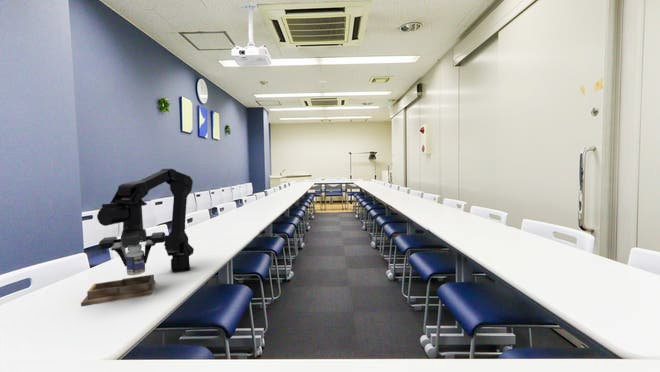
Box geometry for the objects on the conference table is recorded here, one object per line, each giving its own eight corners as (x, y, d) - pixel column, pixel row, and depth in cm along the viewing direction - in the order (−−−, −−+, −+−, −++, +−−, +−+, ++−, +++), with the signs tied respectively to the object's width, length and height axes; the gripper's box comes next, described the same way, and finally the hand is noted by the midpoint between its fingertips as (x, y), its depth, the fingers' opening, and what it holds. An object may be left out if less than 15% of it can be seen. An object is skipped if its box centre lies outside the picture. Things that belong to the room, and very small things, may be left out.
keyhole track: (155, 282, 113) (154, 273, 113) (151, 294, 102) (151, 284, 102) (92, 292, 105) (91, 282, 105) (81, 306, 94) (80, 295, 94)
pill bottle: (135, 276, 102) (134, 248, 101) (123, 275, 103) (121, 247, 103) (149, 271, 107) (147, 243, 107) (136, 270, 109) (135, 243, 108)
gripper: (92, 226, 93) (96, 276, 94) (161, 221, 101) (164, 267, 102) (102, 221, 103) (105, 266, 104) (164, 216, 111) (166, 258, 112)
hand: (135, 264), depth 105 cm, fingers closed on pill bottle, 5 cm apart
